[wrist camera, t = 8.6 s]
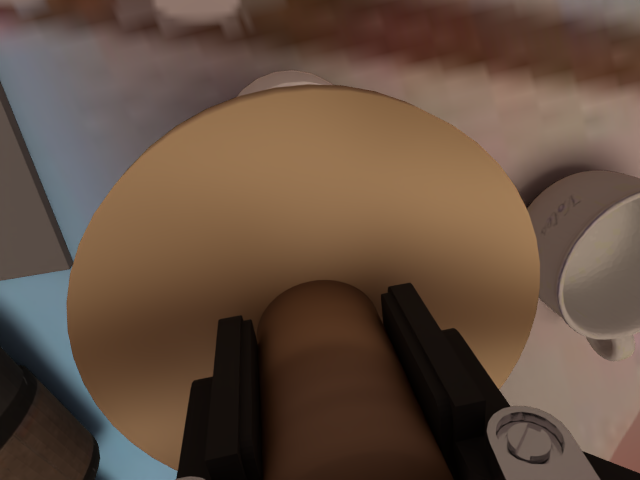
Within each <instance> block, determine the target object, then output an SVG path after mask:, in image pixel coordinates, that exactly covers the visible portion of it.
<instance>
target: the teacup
mask: <svg viewBox="0 0 640 480" xmlns="http://www.w3.org/2000/svg"><path fill="white" fill-rule="evenodd" d="M527 211H528V213H529V216H530V219H531V222H532V225H533V229H534V232H535V235H536V239H537V246H538V253H539V260H540V290H539V297H538V298H540V299H541V300H542V301H543V302H544V303H545V304H546V305H547V306H549V307H550V308H551V309H552V310H553V311H554V312H556V313H557V314H558V315H559V316H561V317H562V318H563V319H564V321H565V322H566V323H567V324H568V325H569V326H570V327H571V328H572V329H573V330H574V331H576V332H577V333H579V334H581V335H583V336H585V337H586V338H587V340H588V342H589V343H590V345H591V346H592V348H593V349H594V350H595V351H596V352H597V353H598V354H599V355H600V356H602V357H603V358H605V359H607V360H609V361H621V360H624V359H626V358H628V357H630V356H631V355H632V354H633V352H634V350H635V340H634V337H633V334H636V333H639V332H640V179H639V178H636V177H633V176H629V175H625V174H622V173H617V172H611V171H600V170H595V171H585V172H580V173H576V174H573V175H570V176H567V177H565V178H563V179H561V180H559V181H557V182H555V183H554V184H552V185H551V186H549V187H548V188H547V189H545V190H544V191H543V192H542V193H541V194H540V195H539V196H537V197H536V199H535V200H534V201H533V202H532V203H531V204H530V206H529V207H528V208H527Z"/></svg>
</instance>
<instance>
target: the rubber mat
mask: <svg viewBox="0 0 640 480" xmlns="http://www.w3.org/2000/svg"><path fill="white" fill-rule="evenodd" d="M72 265H73V261H72V258H71V256H70V253H69V251H68V248H67V246H66V243H65V241H64V238H63V236H62V233H61V231H60V228H59V226H58V223H57V221H56V218H55V216H54V214H53V211H52V209H51V206H50V204H49V201H48V199H47V196H46V194H45V191H44V189H43V186H42V184H41V181H40V179H39V176H38V174H37V171H36V169H35V166H34V164H33V162H32V159H31V157H30V154H29V152H28V149H27V147H26V144H25V142H24V139H23V137H22V134H21V132H20V129H19V127H18V124H17V122H16V119H15V117H14V114H13V112H12V110H11V107H10V105H9V102H8V100H7V97H6V95H5V92H4V90H3V87H2V85H1V82H0V281H1V280H7V279H13V278H19V277H25V276H31V275H37V274H43V273H49V272H55V271H61V270H67V269H70V268H71V267H72Z"/></svg>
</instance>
